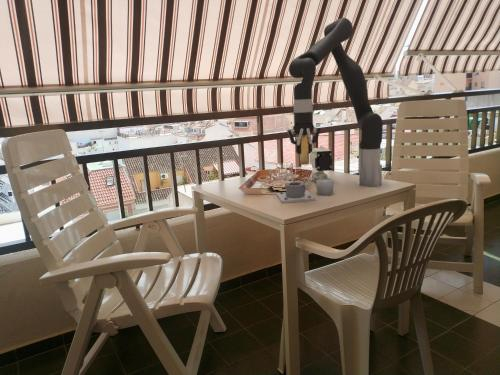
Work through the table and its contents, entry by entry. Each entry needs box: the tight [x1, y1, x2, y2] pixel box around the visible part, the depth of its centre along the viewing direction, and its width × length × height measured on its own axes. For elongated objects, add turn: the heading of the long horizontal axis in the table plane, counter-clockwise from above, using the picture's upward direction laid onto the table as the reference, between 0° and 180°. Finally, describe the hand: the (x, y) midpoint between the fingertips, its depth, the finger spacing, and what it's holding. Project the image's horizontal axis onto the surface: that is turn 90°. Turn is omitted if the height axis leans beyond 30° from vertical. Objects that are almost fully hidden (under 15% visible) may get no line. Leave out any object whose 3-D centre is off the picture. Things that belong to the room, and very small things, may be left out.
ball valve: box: [309, 145, 333, 182], centre depth 190 cm, size 18×8×18 cm, turn 2°
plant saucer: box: [267, 178, 306, 189], centre depth 181 cm, size 18×18×3 cm
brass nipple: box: [299, 135, 310, 165], centre depth 154 cm, size 4×4×12 cm
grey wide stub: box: [316, 178, 334, 197], centre depth 166 cm, size 7×7×6 cm
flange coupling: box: [276, 182, 316, 204], centre depth 162 cm, size 14×14×6 cm
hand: (304, 153), depth 155 cm, fingers closed on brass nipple, 3 cm apart
